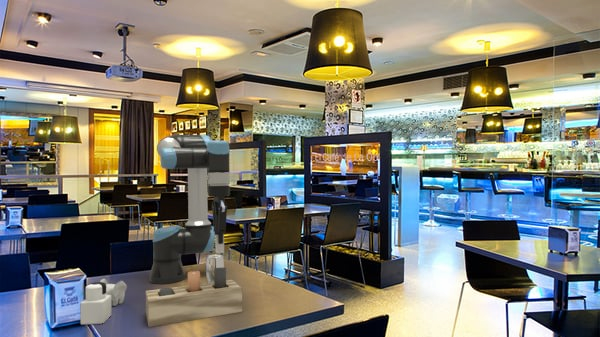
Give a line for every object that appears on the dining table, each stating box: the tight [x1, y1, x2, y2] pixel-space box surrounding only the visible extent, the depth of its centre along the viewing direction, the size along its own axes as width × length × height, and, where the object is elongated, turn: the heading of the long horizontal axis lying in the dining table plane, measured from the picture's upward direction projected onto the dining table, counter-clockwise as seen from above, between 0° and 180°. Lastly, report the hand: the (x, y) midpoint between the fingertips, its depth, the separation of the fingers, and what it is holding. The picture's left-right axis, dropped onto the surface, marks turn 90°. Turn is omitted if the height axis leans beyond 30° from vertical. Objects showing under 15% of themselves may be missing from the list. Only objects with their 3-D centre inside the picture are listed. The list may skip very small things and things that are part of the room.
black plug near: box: [159, 287, 173, 296], centre depth 134 cm, size 4×4×8 cm
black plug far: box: [214, 267, 227, 289], centre depth 142 cm, size 4×4×8 cm
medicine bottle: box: [79, 281, 113, 325], centre depth 133 cm, size 7×7×12 cm
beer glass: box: [205, 254, 225, 283], centre depth 158 cm, size 7×7×15 cm
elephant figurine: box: [99, 278, 128, 307], centre depth 148 cm, size 10×12×9 cm
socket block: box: [145, 279, 243, 328], centre depth 138 cm, size 12×30×8 cm, turn 115°
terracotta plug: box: [187, 269, 201, 293], centre depth 138 cm, size 4×4×8 cm
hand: (219, 252), depth 142 cm, fingers closed
